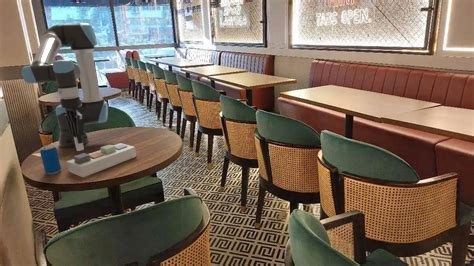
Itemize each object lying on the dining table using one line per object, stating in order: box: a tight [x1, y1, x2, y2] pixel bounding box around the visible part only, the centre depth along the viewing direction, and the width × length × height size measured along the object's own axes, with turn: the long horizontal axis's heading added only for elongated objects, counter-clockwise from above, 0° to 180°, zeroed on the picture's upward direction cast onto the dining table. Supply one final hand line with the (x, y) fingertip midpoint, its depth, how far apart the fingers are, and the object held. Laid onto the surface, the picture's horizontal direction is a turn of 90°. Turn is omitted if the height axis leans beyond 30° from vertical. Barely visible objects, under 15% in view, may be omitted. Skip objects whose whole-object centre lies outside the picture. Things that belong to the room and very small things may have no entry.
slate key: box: [115, 143, 127, 150], centre depth 163 cm, size 5×5×3 cm
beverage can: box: [39, 144, 62, 175], centre depth 148 cm, size 6×6×12 cm
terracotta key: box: [90, 152, 104, 159], centre depth 153 cm, size 5×5×3 cm
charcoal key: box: [73, 152, 91, 164], centre depth 148 cm, size 5×5×3 cm
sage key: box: [99, 144, 116, 155], centre depth 158 cm, size 5×5×3 cm
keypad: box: [66, 142, 137, 178], centre depth 156 cm, size 12×28×5 cm, turn 143°
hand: (80, 149), depth 146 cm, fingers closed
